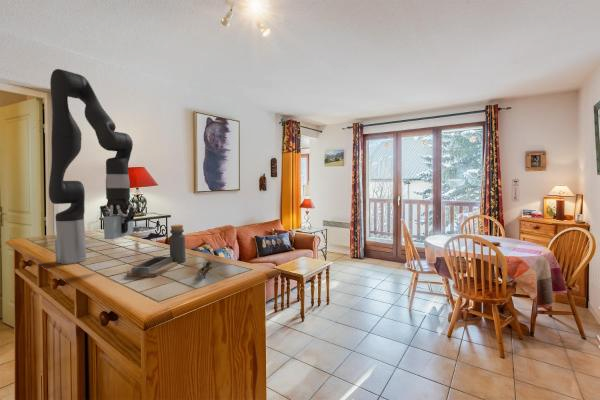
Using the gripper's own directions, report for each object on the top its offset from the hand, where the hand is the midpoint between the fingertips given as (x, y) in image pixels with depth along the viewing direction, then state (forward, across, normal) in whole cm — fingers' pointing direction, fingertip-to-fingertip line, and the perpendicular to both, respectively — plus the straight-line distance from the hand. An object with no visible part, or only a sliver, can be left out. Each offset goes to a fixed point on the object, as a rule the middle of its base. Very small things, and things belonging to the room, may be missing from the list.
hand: (119, 232), depth 112 cm
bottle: (+14, +16, +12) cm, 25 cm away
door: (+1, 0, 0) cm, 1 cm away
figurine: (+14, +35, -2) cm, 38 cm away
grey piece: (+14, +13, 0) cm, 19 cm away
